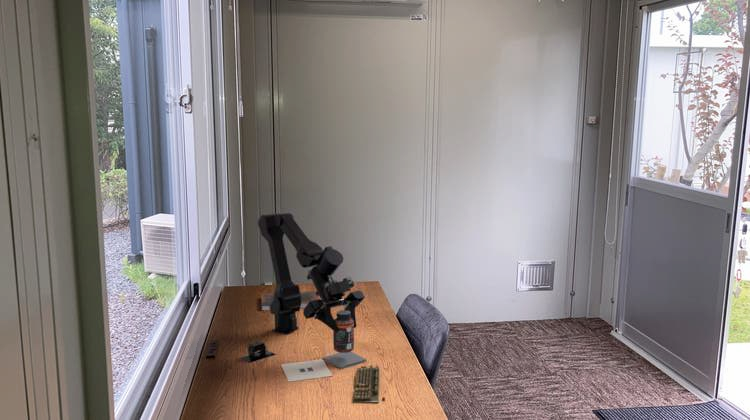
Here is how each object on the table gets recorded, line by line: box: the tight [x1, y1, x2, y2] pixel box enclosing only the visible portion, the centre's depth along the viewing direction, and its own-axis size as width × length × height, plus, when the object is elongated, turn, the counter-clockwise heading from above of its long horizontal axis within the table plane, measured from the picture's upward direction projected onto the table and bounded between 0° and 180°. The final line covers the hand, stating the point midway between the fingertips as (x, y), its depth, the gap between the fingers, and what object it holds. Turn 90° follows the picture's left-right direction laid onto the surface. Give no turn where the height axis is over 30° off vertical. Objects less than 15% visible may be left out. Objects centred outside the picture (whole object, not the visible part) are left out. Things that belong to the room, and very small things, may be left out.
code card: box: [281, 358, 333, 383], centre depth 169 cm, size 12×12×1 cm
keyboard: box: [352, 364, 387, 404], centre depth 160 cm, size 22×9×2 cm, turn 179°
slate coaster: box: [322, 351, 367, 370], centre depth 176 cm, size 9×9×1 cm
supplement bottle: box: [332, 309, 355, 353], centre depth 175 cm, size 6×6×11 cm
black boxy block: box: [239, 340, 277, 364], centre depth 179 cm, size 12×7×5 cm, turn 134°
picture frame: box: [260, 290, 320, 311], centre depth 233 cm, size 16×2×22 cm
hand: (346, 329), depth 174 cm, fingers closed on supplement bottle, 6 cm apart
